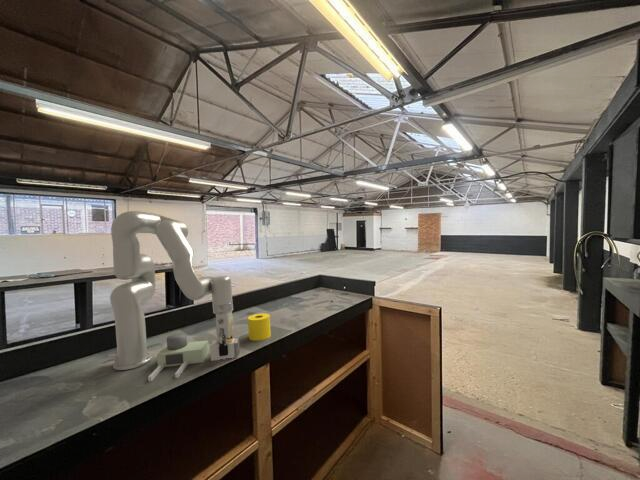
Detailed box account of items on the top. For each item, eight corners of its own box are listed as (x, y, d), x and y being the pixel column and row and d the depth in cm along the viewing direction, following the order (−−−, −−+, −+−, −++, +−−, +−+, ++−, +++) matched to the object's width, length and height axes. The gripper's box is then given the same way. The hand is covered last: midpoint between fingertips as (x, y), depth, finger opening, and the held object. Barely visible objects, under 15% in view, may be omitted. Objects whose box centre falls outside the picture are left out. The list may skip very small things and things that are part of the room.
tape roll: (264, 341, 120) (263, 320, 120) (244, 340, 123) (243, 319, 123) (274, 333, 130) (273, 313, 130) (256, 332, 133) (255, 313, 132)
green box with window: (144, 381, 91) (142, 355, 90) (168, 356, 110) (167, 334, 110) (194, 375, 93) (192, 350, 93) (209, 351, 112) (207, 330, 112)
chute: (211, 360, 104) (210, 344, 104) (214, 355, 109) (213, 339, 109) (237, 357, 105) (236, 341, 105) (239, 352, 110) (238, 336, 110)
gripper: (228, 312, 98) (232, 358, 99) (236, 301, 116) (239, 340, 116) (207, 315, 97) (211, 361, 98) (218, 303, 114) (221, 342, 115)
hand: (226, 350), depth 107 cm, fingers open, 9 cm apart
